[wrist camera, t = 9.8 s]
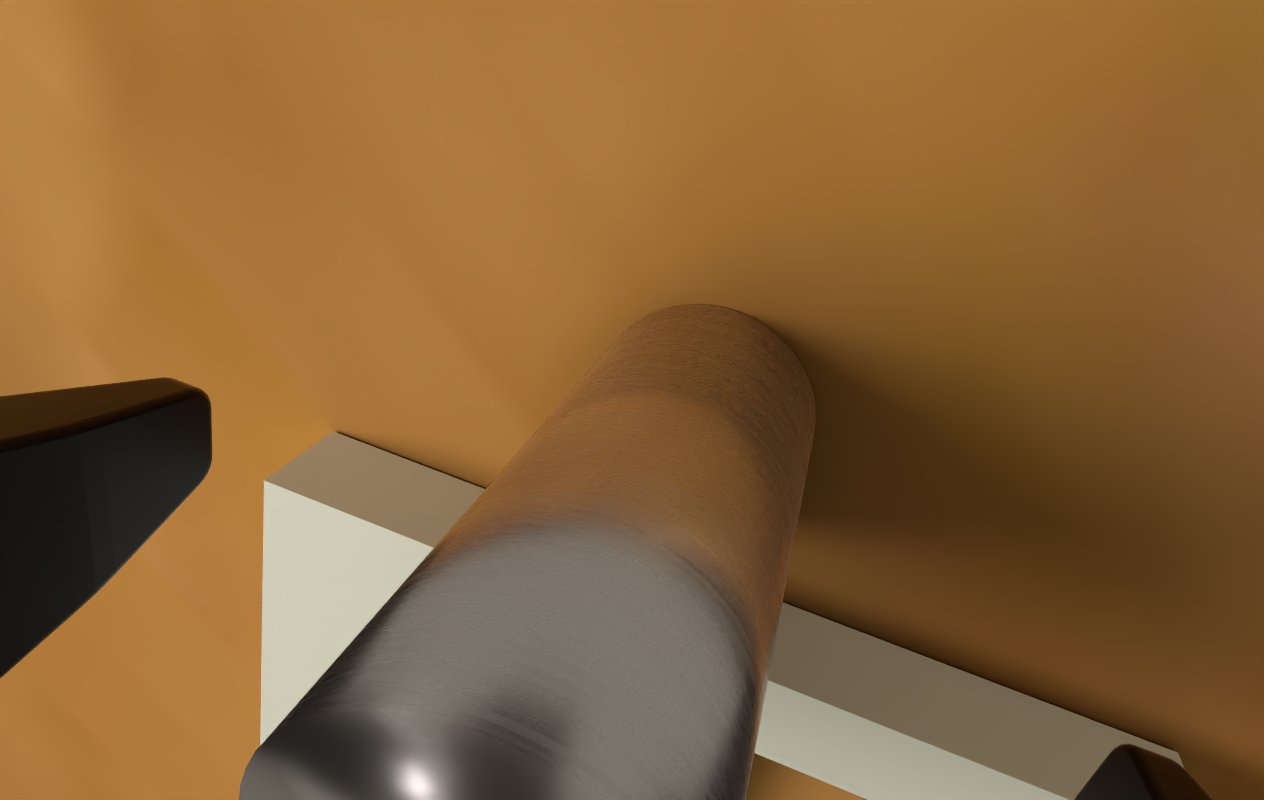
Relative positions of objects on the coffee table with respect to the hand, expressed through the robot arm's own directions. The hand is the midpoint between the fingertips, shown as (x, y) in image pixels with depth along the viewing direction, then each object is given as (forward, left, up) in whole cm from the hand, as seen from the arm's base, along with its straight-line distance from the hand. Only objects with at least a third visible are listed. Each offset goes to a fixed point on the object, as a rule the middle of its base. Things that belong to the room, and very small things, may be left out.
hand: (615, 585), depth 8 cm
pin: (0, 0, -4) cm, 4 cm away
